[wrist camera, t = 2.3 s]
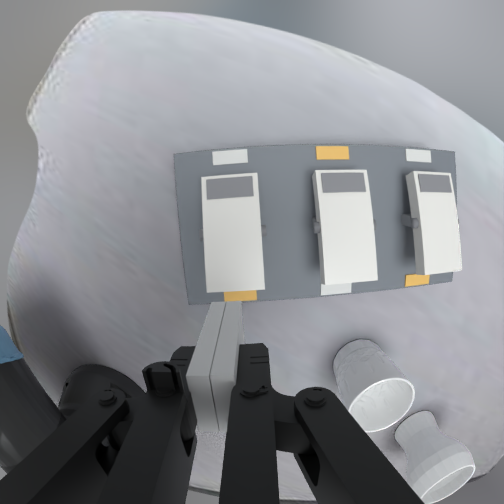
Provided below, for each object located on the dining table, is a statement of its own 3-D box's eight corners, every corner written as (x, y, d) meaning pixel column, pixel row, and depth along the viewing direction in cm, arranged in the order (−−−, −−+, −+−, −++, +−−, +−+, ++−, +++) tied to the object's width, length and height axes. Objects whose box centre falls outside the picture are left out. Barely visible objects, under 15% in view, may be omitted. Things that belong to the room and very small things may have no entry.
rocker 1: (205, 291, 24) (201, 293, 23) (200, 182, 25) (196, 176, 23) (269, 287, 24) (270, 289, 23) (262, 178, 25) (262, 171, 23)
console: (197, 284, 34) (182, 312, 27) (185, 159, 31) (166, 152, 24) (426, 267, 34) (460, 286, 26) (426, 154, 31) (464, 150, 23)
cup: (391, 454, 41) (417, 513, 27) (381, 424, 39) (413, 492, 25) (441, 427, 40) (475, 479, 26) (437, 393, 38) (481, 451, 24)
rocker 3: (412, 275, 24) (421, 275, 22) (402, 175, 25) (410, 170, 23) (455, 270, 24) (466, 270, 22) (445, 177, 24) (454, 172, 23)
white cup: (322, 383, 37) (338, 434, 27) (336, 332, 36) (360, 378, 26) (374, 383, 37) (399, 429, 28) (391, 335, 36) (425, 376, 26)
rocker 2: (316, 284, 24) (320, 285, 23) (307, 176, 25) (310, 169, 23) (374, 279, 24) (382, 279, 22) (364, 175, 25) (371, 169, 23)
